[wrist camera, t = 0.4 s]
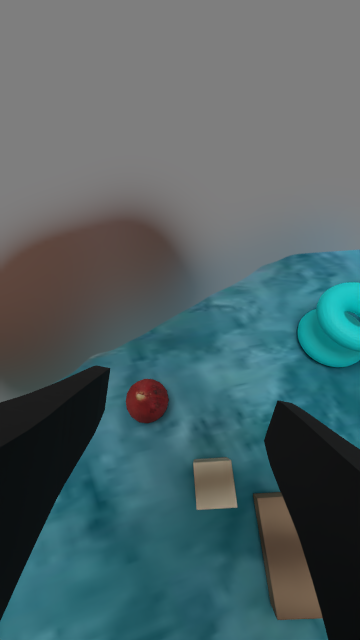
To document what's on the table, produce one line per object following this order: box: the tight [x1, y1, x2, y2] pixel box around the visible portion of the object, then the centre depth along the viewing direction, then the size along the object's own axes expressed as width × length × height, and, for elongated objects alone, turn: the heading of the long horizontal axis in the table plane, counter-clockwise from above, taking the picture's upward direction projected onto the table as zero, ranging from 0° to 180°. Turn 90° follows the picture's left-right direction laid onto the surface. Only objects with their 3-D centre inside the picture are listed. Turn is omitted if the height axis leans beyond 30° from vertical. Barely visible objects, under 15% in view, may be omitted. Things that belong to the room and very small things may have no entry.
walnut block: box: [253, 492, 323, 620], centre depth 27 cm, size 10×10×3 cm
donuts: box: [298, 282, 360, 367], centre depth 35 cm, size 10×10×10 cm
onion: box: [126, 379, 169, 423], centre depth 33 cm, size 6×6×8 cm
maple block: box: [193, 457, 237, 510], centre depth 30 cm, size 4×4×5 cm
